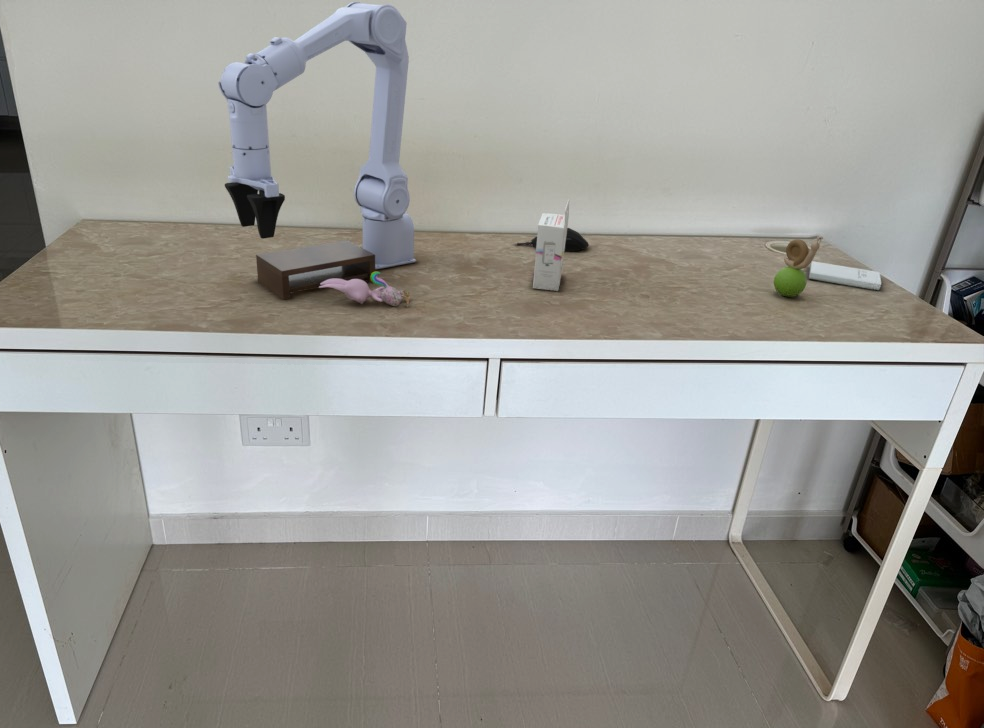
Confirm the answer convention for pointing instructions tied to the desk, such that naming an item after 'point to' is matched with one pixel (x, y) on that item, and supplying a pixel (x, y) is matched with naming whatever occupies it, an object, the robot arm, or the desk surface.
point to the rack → (313, 266)
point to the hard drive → (845, 275)
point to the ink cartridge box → (550, 250)
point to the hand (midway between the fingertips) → (257, 231)
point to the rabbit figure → (367, 290)
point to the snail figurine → (795, 268)
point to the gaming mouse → (567, 241)
